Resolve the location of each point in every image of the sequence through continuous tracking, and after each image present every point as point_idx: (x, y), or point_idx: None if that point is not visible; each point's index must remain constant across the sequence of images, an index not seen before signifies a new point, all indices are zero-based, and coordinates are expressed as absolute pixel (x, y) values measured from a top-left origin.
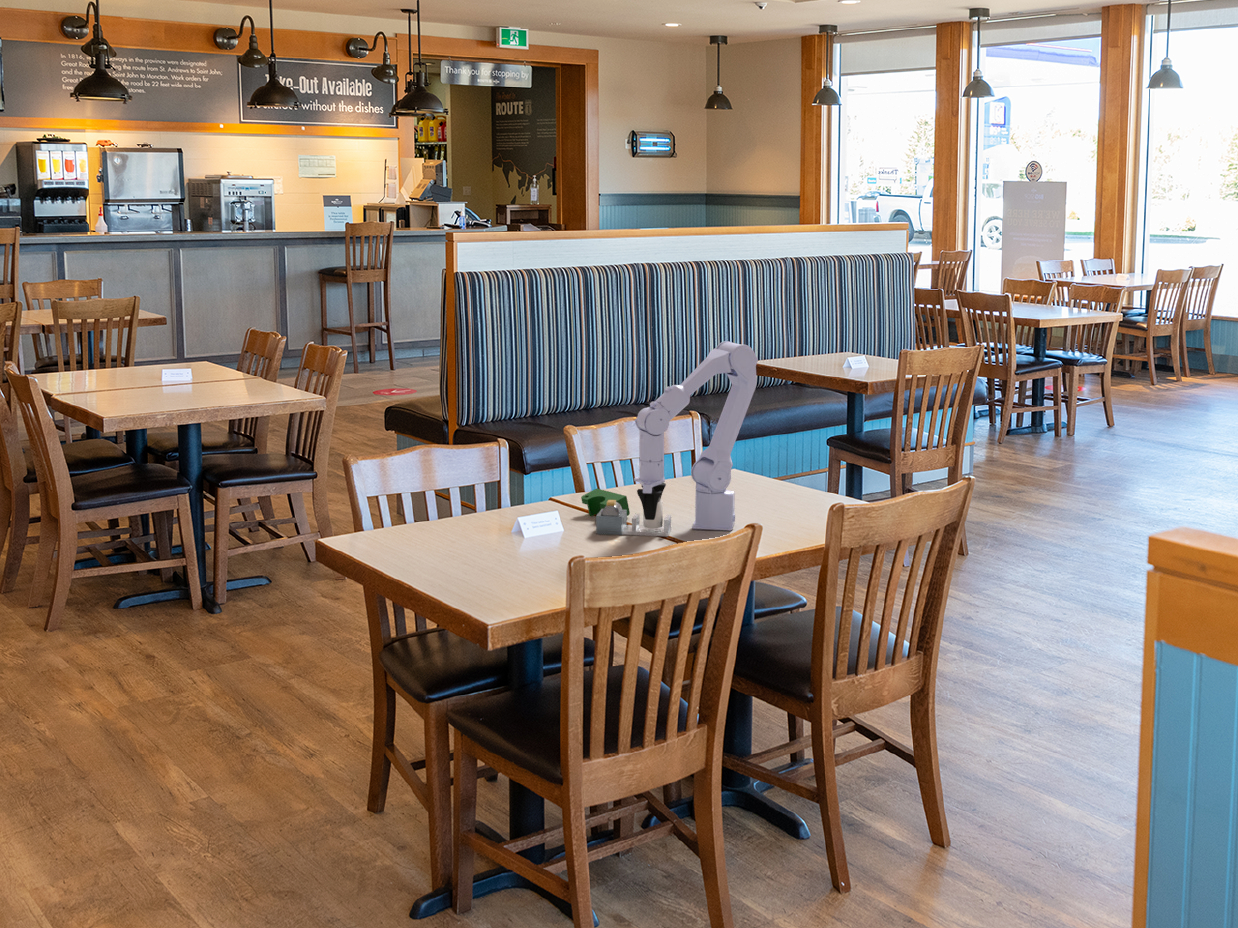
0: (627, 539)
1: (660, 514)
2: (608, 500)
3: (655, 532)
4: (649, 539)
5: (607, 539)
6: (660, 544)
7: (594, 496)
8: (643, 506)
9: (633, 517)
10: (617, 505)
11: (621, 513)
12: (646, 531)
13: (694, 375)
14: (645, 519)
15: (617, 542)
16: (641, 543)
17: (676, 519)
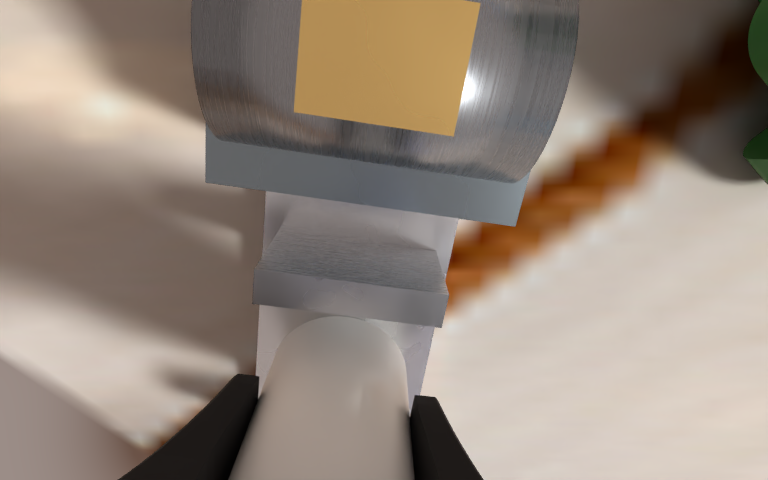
0: (150, 192)
1: None
2: (424, 1)
3: (260, 372)
4: (178, 326)
5: (117, 37)
6: (78, 382)
7: None
8: (155, 455)
9: (298, 281)
10: (425, 144)
11: (348, 177)
12: (280, 322)
13: None
14: (282, 365)
15: (51, 121)
16: (71, 282)
17: (646, 461)
